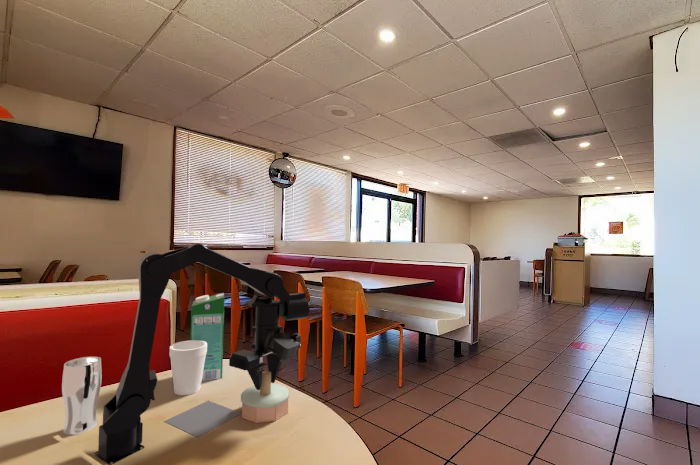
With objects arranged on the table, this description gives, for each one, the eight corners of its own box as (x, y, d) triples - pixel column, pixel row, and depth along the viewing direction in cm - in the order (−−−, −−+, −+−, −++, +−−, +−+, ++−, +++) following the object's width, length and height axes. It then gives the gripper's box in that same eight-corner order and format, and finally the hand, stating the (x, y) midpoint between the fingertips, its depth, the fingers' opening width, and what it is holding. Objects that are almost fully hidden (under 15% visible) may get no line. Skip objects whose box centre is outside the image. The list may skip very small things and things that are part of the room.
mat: (197, 439, 74) (197, 437, 74) (163, 423, 80) (163, 421, 80) (241, 415, 84) (241, 413, 84) (208, 402, 90) (208, 400, 90)
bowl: (265, 429, 78) (266, 411, 78) (232, 416, 84) (232, 399, 84) (296, 409, 88) (296, 393, 88) (264, 398, 93) (264, 383, 93)
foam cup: (212, 386, 100) (213, 341, 100) (194, 401, 91) (196, 351, 91) (180, 384, 101) (182, 339, 101) (160, 398, 92) (162, 349, 92)
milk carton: (191, 372, 110) (193, 293, 110) (221, 369, 113) (224, 292, 113) (189, 383, 101) (191, 298, 102) (222, 380, 104) (224, 297, 105)
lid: (266, 412, 78) (266, 386, 78) (230, 399, 84) (230, 375, 84) (298, 393, 88) (299, 370, 88) (264, 383, 94) (264, 361, 94)
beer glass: (106, 427, 78) (108, 360, 78) (68, 442, 72) (71, 369, 72) (91, 418, 81) (93, 354, 82) (54, 432, 75) (56, 363, 76)
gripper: (264, 336, 74) (262, 410, 74) (315, 320, 90) (314, 380, 90) (228, 329, 79) (226, 397, 79) (282, 314, 96) (281, 371, 95)
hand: (265, 386), depth 86 cm, fingers open, 5 cm apart
